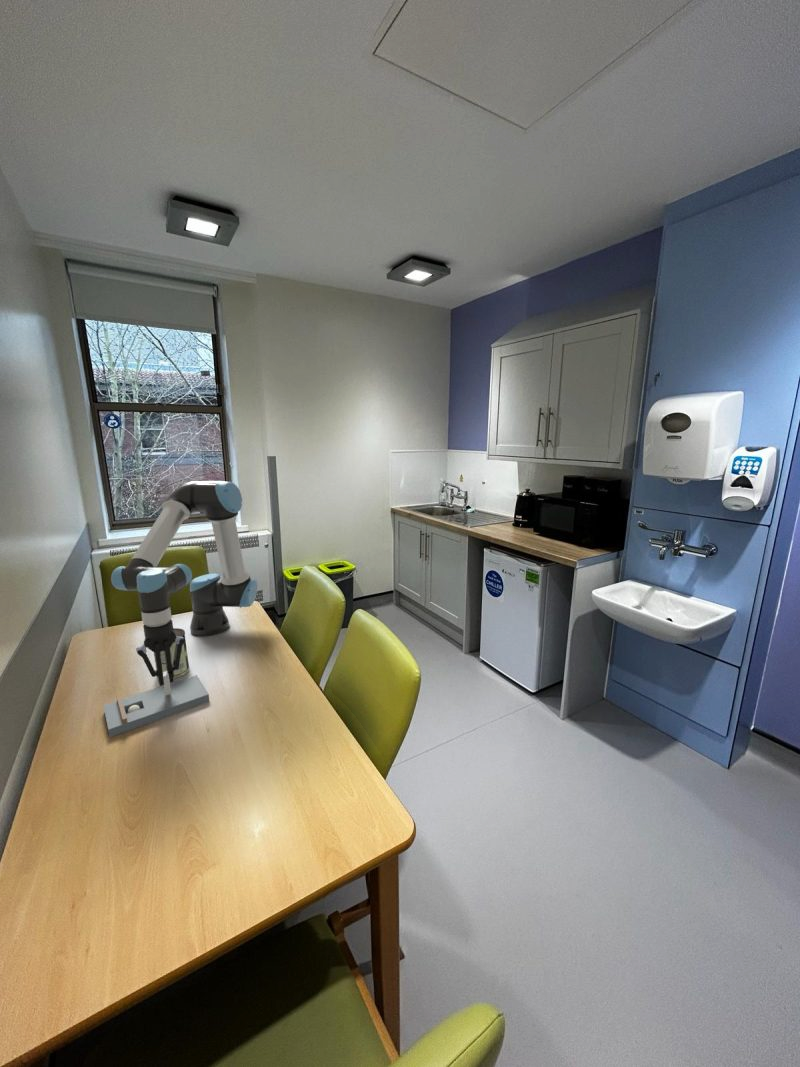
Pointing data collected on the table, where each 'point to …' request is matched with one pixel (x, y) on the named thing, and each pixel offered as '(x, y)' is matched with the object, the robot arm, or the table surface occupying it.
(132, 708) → the ball
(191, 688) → the deck
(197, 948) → the table surface
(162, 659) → the coffee can
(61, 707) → the table surface
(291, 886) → the table surface
